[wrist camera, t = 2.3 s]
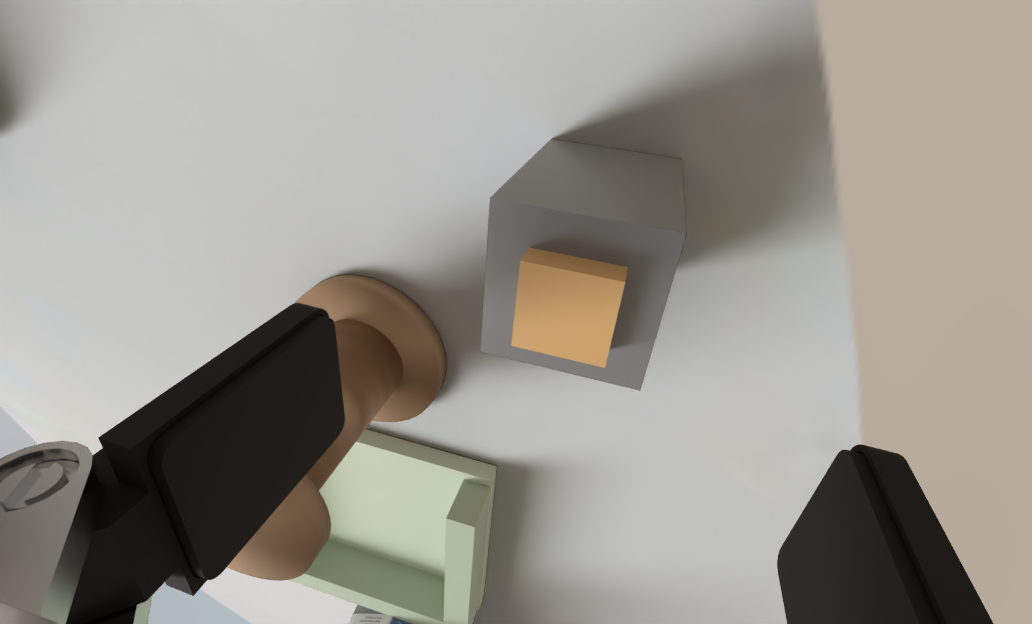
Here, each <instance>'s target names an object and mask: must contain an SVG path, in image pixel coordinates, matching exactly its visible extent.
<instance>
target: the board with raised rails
mask: <svg viewBox="0 0 1032 624" xmlns="http://www.w3.org/2000/svg"><path fill="white" fill-rule="evenodd" d="M496 470H497V466H494V465H491V464H487V463H484V462H480V461H477V460H473V459H470V458H466V457H462V456H459V455H455V454H452V453H448V452H445V451H441V450H438V449H434V448H431V447H427V446H424V445H420V444H417V443H413V442H409V441H406V440H402V439H399V438H395V437H392V436H388V435H385V434H381V433H378V432H374V431H371V430H367V429H365V430H364V432H363V433H362V434H361V436H360V437H359V438H358V440H357V441H356V442H355V444H354V445H353V446H352V448H351V449H350V450H349V452H348V453H347V454H346V456H345V457H344V458H343V460H342V461H341V462H340V464H339V465H338V466H337V468H336V469H335V470H334V472H333V473H332V474H331V476H330V477H329V478H328V480H327V481H326V482H325V484H324V485H323V486H322V488H321V489H320V490H319V492H320V494H321V495H322V497H323V499H324V501H325V503H326V506H327V508H328V511H329V515H330V519H331V532H330V536H329V538H328V541H327V542H326V544H325V545H324V547H323V548H322V550H321V551H320V553H319V554H318V556H317V557H316V559H315V560H314V562H313V563H312V565H311V566H310V568H309V569H308V570H307V571H306V572H305V573H304V574H303V575H301V576H299V577H297V578H294V579H290V581H293V582H296V583H299V584H302V585H304V586H307V587H310V588H313V589H316V590H318V591H321V592H324V593H327V594H330V595H333V596H335V597H338V598H341V599H344V600H347V601H349V602H352V603H355V604H358V605H361V606H364V607H366V608H369V609H372V610H375V611H378V612H380V613H383V614H386V615H390V616H393V617H395V618H397V619H400V620H403V621H406V622H409V623H411V624H473V621H474V618H475V615H476V612H477V610H478V611H479V609H480V606H481V603H482V600H483V597H484V588H485V578H486V568H487V558H488V548H489V539H490V529H491V519H492V509H493V499H494V489H495V480H496Z"/></svg>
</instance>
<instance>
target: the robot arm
mask: <svg viewBox="0 0 1032 624" xmlns="http://www.w3.org/2000/svg"><path fill="white" fill-rule="evenodd" d="M344 423H345V412H344V403H343V394H342V385H341V376H340V367H339V357H338V348H337V339H336V330H335V324H334V321H333V320H332V319H331V318H329V315H328V313H327V311H326V310H324V309H322V308H318V307H314V306H310V305H306V304H302V303H294V304H292V305H290V306H289V307H287V308H286V309H285V310H283V311H282V312H280V313H279V314H277V315H276V316H274V317H273V318H271V319H270V320H269V321H267V322H266V323H264V324H263V325H261V326H260V327H258V328H257V329H256V330H254V331H253V332H251V333H250V334H248V335H247V336H245V337H244V338H242V339H241V340H240V341H238V342H237V343H235V344H234V345H232V346H231V347H229V348H228V349H226V350H225V351H224V352H222V353H221V354H219V355H218V356H216V357H215V358H213V359H212V360H210V361H209V362H208V363H206V364H205V365H203V366H202V367H200V368H199V369H197V370H196V371H195V372H193V373H192V374H190V375H189V376H187V377H186V378H184V379H183V380H181V381H180V382H179V383H177V384H176V385H174V386H173V387H171V388H170V389H168V390H167V391H165V392H164V393H163V394H161V395H160V396H158V397H157V398H155V399H154V400H152V401H151V402H150V403H148V404H147V405H145V406H144V407H142V408H141V409H139V410H138V411H136V412H135V413H134V414H132V415H131V416H129V417H128V418H126V419H125V420H123V421H122V422H120V423H119V424H118V425H116V426H115V427H113V428H112V429H110V430H109V431H107V432H106V433H105V434H103V435H102V436H100V437H99V440H100V442H101V444H102V447H103V449H101V450H100V451H98V452H97V453H96V454H94V455H92V453H91V452H90V450H89V449H88V447H86V446H84V445H82V444H79V443H77V442H68V441H57V442H47V443H42V444H38V445H34V446H31V447H27V448H24V449H21V450H19V451H16V452H14V453H11V454H9V455H6V456H4V457H3V458H1V459H0V624H148V618H149V613H150V607H151V601H152V595H153V594H154V593H155V591H157V589H158V588H159V587H160V586H161V585H162V584H163V583H164V582H166V584H167V585H168V586H170V587H173V588H175V589H178V590H180V591H183V592H185V593H188V594H190V595H192V596H194V595H195V593H196V592H197V591H198V590H199V589H200V588H201V586H202V585H203V584H204V583H205V582H206V581H207V580H211V579H214V578H216V577H217V576H219V575H220V574H221V573H222V572H223V571H224V570H225V568H226V567H227V566H228V565H229V564H230V563H231V561H232V560H233V559H234V558H235V557H236V556H237V554H238V553H239V552H240V551H241V550H242V549H243V547H244V546H245V545H246V544H247V543H248V542H249V540H250V539H251V538H252V537H253V536H254V535H255V533H256V532H257V531H258V530H259V529H260V527H261V526H262V525H263V524H264V523H265V522H266V520H267V519H268V518H269V517H270V516H271V515H272V513H273V512H274V511H275V510H276V509H277V508H278V506H279V505H280V504H281V503H282V502H283V501H284V499H285V498H286V497H287V496H288V495H289V494H290V492H291V491H292V490H293V489H294V488H295V487H296V485H297V484H298V483H299V482H300V481H301V480H302V478H303V477H304V476H305V475H306V474H307V473H308V471H309V470H310V469H311V468H312V467H313V466H314V464H315V463H316V462H317V461H318V460H319V459H320V457H321V456H322V455H323V454H324V453H325V452H326V450H327V449H328V448H329V447H330V446H331V445H332V443H333V442H334V441H335V440H336V439H337V437H338V436H339V435H340V433H341V432H342V430H343V427H344ZM777 568H778V575H779V580H780V586H781V591H782V597H783V602H784V608H785V613H786V619H787V624H993V622H992V620H991V618H990V616H989V614H988V613H987V611H986V609H985V607H984V605H983V603H982V601H981V599H980V598H979V596H978V594H977V592H976V590H975V589H974V586H973V584H972V583H971V581H970V579H969V577H968V575H967V573H966V571H965V569H964V568H963V566H962V564H961V562H960V561H959V558H958V556H957V555H956V553H955V551H954V549H953V547H952V545H951V543H950V541H949V540H948V538H947V536H946V534H945V532H944V530H943V528H942V527H941V525H940V523H939V521H938V519H937V517H936V515H935V513H934V512H933V510H932V508H931V506H930V504H929V502H928V500H927V499H926V497H925V495H924V493H923V491H922V489H921V487H920V485H919V483H918V482H917V480H916V478H915V476H914V474H913V473H912V470H911V468H910V467H909V465H908V463H907V461H906V460H905V459H904V457H903V456H901V455H899V454H897V453H893V452H889V451H885V450H881V449H877V448H873V447H869V446H865V445H856V446H854V447H853V448H852V449H851V450H850V451H849V450H842V451H840V452H839V453H838V455H837V456H836V458H835V459H834V461H833V463H832V464H831V466H830V467H829V469H828V471H827V472H826V474H825V476H824V477H823V479H822V481H821V482H820V484H819V486H818V487H817V489H816V491H815V492H814V494H813V496H812V497H811V499H810V500H809V502H808V504H807V505H806V507H805V509H804V510H803V512H802V514H801V515H800V517H799V519H798V520H797V522H796V524H795V525H794V527H793V528H792V530H791V532H790V533H789V535H788V537H787V538H786V540H785V542H784V543H783V545H782V547H781V549H780V551H779V555H778V561H777Z"/></svg>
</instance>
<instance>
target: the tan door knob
mask: <svg viewBox="0 0 1032 624" xmlns="http://www.w3.org/2000/svg"><path fill="white" fill-rule="evenodd" d="M296 303H302V304H306V305H310V306H314V307H318V308H322V309H324V310H326V311H327V313H328V315H329V318H331V319H332V320H333V321H334V324H335V330H336V339H337V348H338V357H339V367H340V376H341V385H342V394H343V403H344V412H345V423H344V427H343V430H342V432H341V433H340V435H339V436H338V437H337V439H336V440H335V441H334V442H333V443H332V445H331V446H330V447H329V448H328V449H327V450H326V452H325V453H324V454H323V455H322V456H321V457H320V459H319V460H318V461H317V462H316V463H315V464H314V466H313V467H312V468H311V469H310V470H309V471H308V473H307V474H306V475H305V476H304V477H303V478H302V480H301V481H300V482H299V483H298V484H297V485H296V487H295V488H294V489H293V490H292V491H291V492H290V494H289V495H288V496H287V497H286V498H285V499H284V501H283V502H282V503H281V504H280V505H279V506H278V508H277V509H276V510H275V511H274V512H273V513H272V515H271V516H270V517H269V518H268V519H267V520H266V522H265V523H264V524H263V525H262V526H261V527H260V529H259V530H258V531H257V532H256V533H255V535H254V536H253V537H252V538H251V539H250V540H249V542H248V543H247V544H246V545H245V546H244V547H243V549H242V550H241V551H240V552H239V553H238V554H237V556H236V557H235V558H234V559H233V560H232V561H231V563H230V564H229V565H228V566H227V567H228V568H230V569H232V570H235V571H237V572H240V573H243V574H246V575H249V576H253V577H257V578H261V579H267V580H290V579H294V578H297V577H299V576H301V575H303V574H304V573H305V572H306V571H307V570H308V569H309V568H310V566H311V565H312V563H313V562H314V560H315V559H316V557H317V556H318V554H319V553H320V551H321V550H322V548H323V547H324V545H325V544H326V542H327V541H328V538H329V536H330V532H331V519H330V515H329V511H328V508H327V506H326V503H325V501H324V499H323V497H322V495H321V494H320V492H319V490H320V489H321V488H322V486H323V485H324V484H325V482H326V481H327V480H328V478H329V477H330V476H331V474H332V473H333V472H334V470H335V469H336V468H337V466H338V465H339V464H340V462H341V461H342V460H343V458H344V457H345V456H346V454H347V453H348V452H349V450H350V449H351V448H352V446H353V445H354V444H355V442H356V441H357V440H358V438H359V437H360V436H361V434H362V433H363V432H364V430H365V429H366V428H367V426H368V425H369V424H370V422H371V421H372V420H374V421H381V422H398V421H404V420H408V419H411V418H413V417H415V416H417V415H419V414H420V413H422V412H423V411H424V410H425V409H426V408H428V406H429V405H430V404H431V402H432V401H433V399H434V398H435V396H436V395H437V393H438V391H439V390H440V388H441V386H442V384H443V382H444V378H445V375H446V366H447V365H446V355H445V350H444V346H443V343H442V340H441V338H440V336H439V334H438V332H437V330H436V328H435V326H434V325H433V323H432V322H431V320H430V319H429V318H428V316H427V315H426V314H425V313H424V311H423V310H422V309H421V308H420V307H419V306H418V305H417V304H416V303H415V302H413V301H412V300H411V299H410V298H409V297H407V296H406V295H405V294H403V293H402V292H400V291H399V290H397V289H395V288H394V287H392V286H390V285H388V284H386V283H383V282H381V281H379V280H376V279H372V278H369V277H365V276H359V275H340V276H334V277H331V278H328V279H326V280H323V281H321V282H320V283H318V284H317V285H316V286H314V287H313V288H312V289H310V290H309V291H308V292H306V293H305V294H304V295H302V296H301V297H300V298H299V299H298V300H297V301H296Z"/></svg>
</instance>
